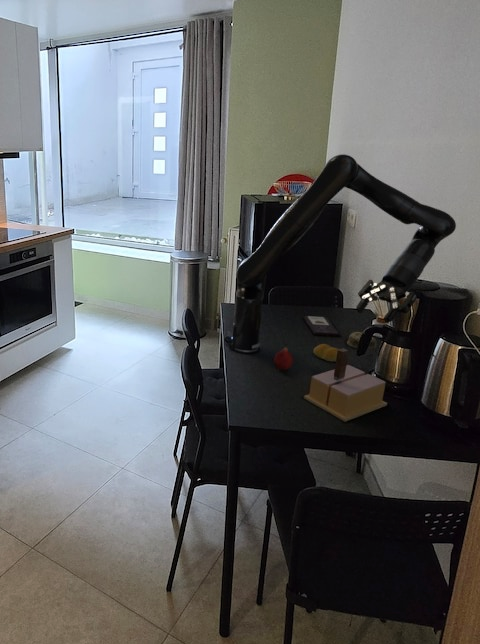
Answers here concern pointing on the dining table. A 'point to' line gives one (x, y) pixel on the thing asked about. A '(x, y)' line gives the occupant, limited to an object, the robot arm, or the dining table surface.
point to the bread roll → (326, 352)
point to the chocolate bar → (321, 326)
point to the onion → (283, 359)
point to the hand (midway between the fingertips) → (371, 316)
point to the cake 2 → (355, 339)
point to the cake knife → (340, 365)
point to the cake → (347, 393)
